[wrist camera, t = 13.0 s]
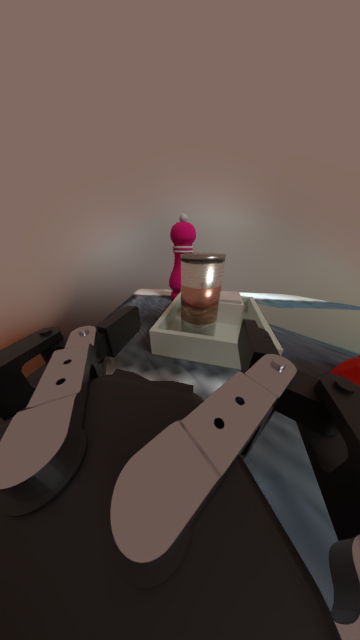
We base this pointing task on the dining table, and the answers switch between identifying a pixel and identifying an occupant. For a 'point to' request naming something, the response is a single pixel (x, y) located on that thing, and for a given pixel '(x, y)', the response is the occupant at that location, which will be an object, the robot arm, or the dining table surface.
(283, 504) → the dining table surface
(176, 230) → the pepper mill
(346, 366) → the tomato
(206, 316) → the clear lidded jar
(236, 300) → the off-white tapered piece
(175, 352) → the tote
